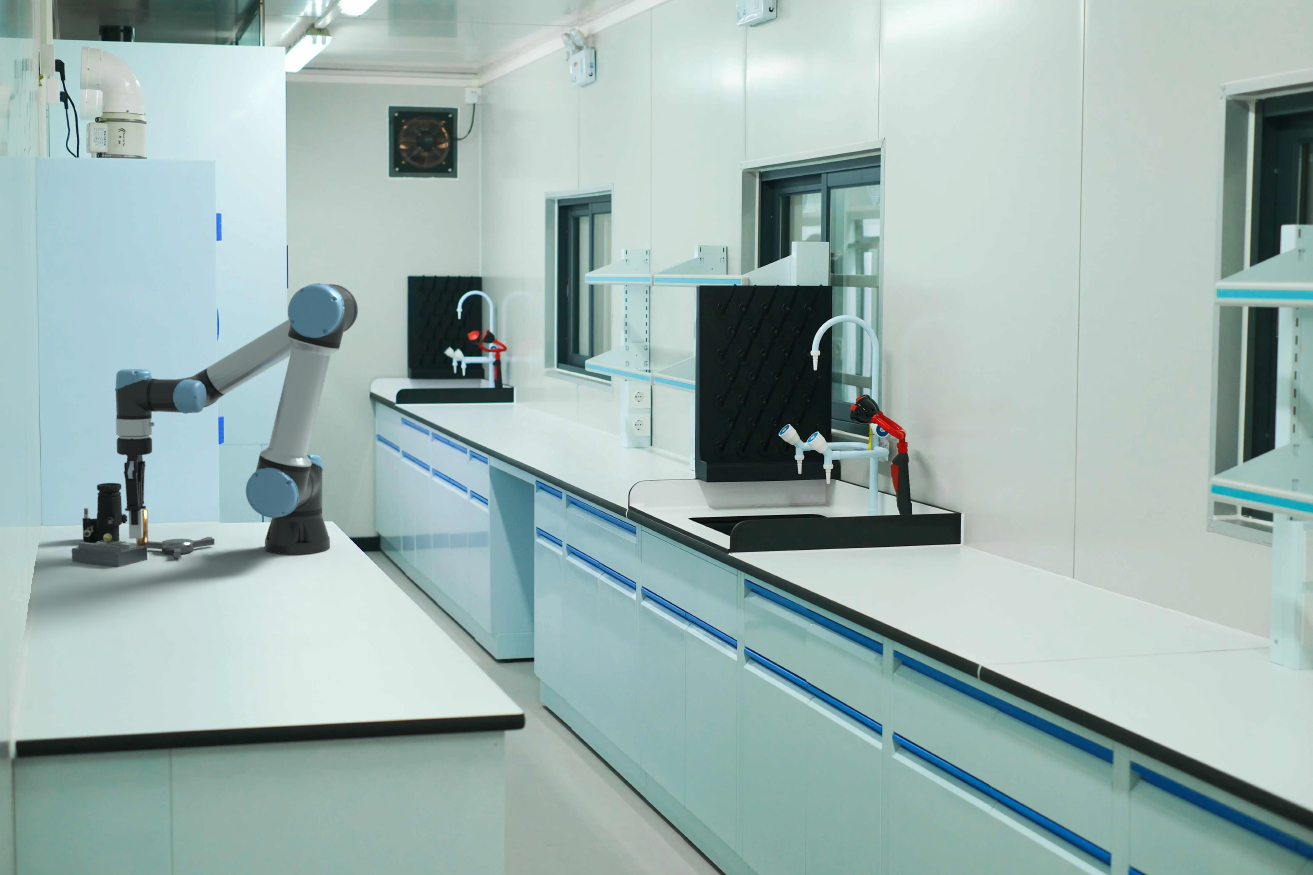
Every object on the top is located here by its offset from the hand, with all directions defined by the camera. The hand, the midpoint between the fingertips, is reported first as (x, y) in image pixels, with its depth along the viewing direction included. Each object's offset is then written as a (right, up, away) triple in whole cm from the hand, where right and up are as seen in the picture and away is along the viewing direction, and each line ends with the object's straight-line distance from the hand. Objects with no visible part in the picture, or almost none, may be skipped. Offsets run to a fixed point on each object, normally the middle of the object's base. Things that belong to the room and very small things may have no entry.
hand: (136, 537), depth 296 cm
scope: (-14, -2, +16) cm, 21 cm away
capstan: (+5, -3, +5) cm, 8 cm away
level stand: (-4, -5, -6) cm, 8 cm away
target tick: (+10, -2, +17) cm, 20 cm away
